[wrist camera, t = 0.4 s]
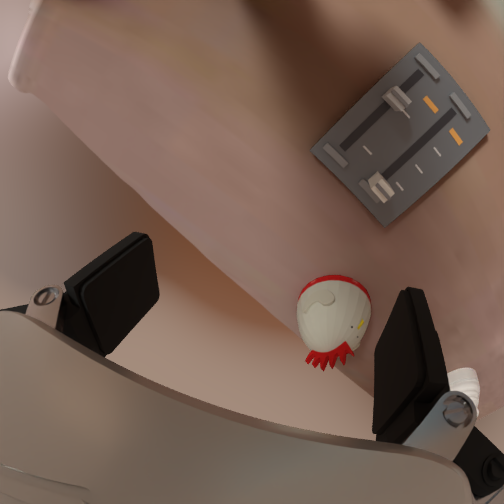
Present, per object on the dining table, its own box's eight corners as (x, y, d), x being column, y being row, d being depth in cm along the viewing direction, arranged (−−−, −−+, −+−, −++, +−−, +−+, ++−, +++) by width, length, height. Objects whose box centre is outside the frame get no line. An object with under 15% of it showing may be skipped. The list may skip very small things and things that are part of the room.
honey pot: (443, 369, 50) (451, 433, 36) (484, 365, 46) (497, 424, 32) (427, 397, 56) (429, 455, 42) (465, 394, 52) (472, 448, 38)
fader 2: (381, 96, 30) (387, 95, 26) (390, 87, 29) (397, 85, 25) (394, 110, 30) (402, 111, 26) (404, 101, 29) (413, 101, 25)
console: (310, 149, 38) (309, 151, 37) (417, 44, 25) (421, 41, 23) (383, 223, 40) (385, 229, 38) (485, 129, 27) (492, 130, 25)
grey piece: (380, 319, 49) (383, 382, 37) (318, 338, 56) (306, 398, 44) (353, 263, 45) (352, 325, 33) (285, 290, 52) (264, 349, 40)
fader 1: (367, 180, 36) (371, 190, 32) (377, 171, 35) (382, 179, 31) (379, 193, 37) (384, 204, 33) (389, 184, 36) (395, 194, 31)
